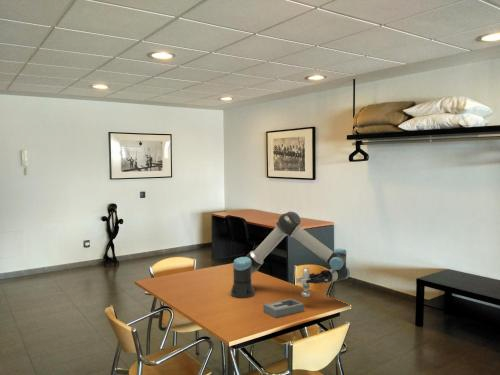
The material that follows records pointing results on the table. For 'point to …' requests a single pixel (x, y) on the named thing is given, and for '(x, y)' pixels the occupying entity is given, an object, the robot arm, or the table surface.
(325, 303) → the table surface
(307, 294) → the steel peg
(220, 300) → the table surface
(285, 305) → the keyhole plate
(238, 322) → the table surface
